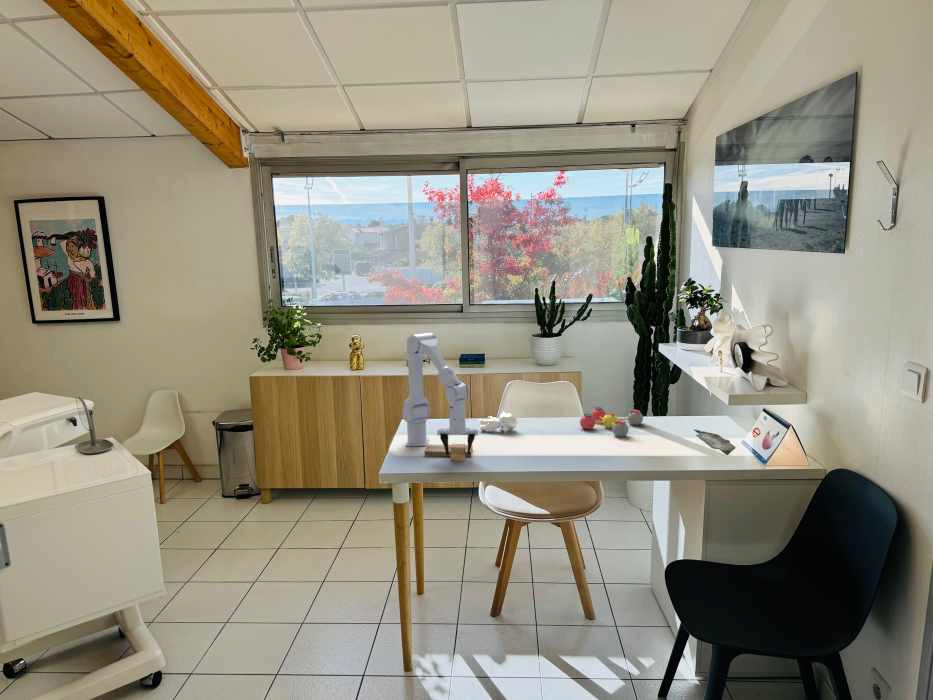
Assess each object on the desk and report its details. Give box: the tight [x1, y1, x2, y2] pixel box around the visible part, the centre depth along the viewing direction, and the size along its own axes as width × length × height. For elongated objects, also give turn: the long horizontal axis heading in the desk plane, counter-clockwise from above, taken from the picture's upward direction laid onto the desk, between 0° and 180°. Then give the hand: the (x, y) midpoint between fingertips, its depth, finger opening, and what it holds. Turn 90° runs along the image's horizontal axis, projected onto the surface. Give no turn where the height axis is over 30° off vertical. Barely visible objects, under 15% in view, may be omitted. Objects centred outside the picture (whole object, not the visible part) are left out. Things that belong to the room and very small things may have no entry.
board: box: [424, 444, 473, 457], centre depth 241 cm, size 8×17×2 cm, turn 86°
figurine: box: [479, 411, 518, 434], centre depth 267 cm, size 11×7×15 cm
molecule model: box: [579, 406, 644, 438], centre depth 269 cm, size 25×21×6 cm
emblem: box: [693, 428, 736, 456], centre depth 249 cm, size 32×10×1 cm, turn 2°
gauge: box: [450, 443, 467, 462], centre depth 235 cm, size 7×5×5 cm
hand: (458, 454), depth 234 cm, fingers open, 7 cm apart
